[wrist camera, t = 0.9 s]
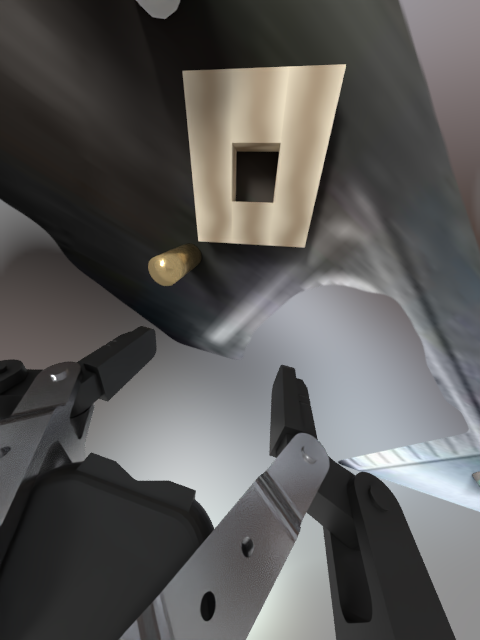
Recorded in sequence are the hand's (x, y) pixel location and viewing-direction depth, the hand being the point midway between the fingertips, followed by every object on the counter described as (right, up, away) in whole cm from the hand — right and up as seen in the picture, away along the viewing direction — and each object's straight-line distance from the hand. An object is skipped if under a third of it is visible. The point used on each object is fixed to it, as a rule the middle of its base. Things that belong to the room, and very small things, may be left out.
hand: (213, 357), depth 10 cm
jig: (+4, +22, +13) cm, 26 cm away
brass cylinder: (-7, +14, +21) cm, 26 cm away
